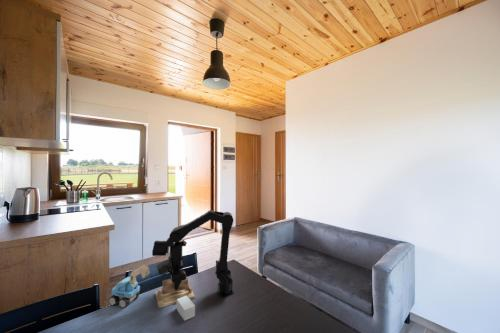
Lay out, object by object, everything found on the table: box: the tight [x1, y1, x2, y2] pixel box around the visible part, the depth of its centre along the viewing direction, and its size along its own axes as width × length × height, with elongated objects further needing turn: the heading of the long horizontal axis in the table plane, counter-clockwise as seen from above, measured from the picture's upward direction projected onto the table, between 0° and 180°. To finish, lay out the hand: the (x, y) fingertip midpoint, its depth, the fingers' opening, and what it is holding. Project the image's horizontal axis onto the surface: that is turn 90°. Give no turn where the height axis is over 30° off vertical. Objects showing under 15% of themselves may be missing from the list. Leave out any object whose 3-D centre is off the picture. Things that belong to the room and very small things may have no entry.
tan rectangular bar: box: [161, 275, 189, 295], centre depth 103 cm, size 11×4×4 cm, turn 119°
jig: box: [155, 283, 196, 309], centre depth 103 cm, size 16×12×3 cm
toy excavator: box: [108, 264, 151, 309], centre depth 98 cm, size 9×17×17 cm, turn 78°
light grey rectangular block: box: [176, 295, 196, 321], centre depth 92 cm, size 9×4×4 cm, turn 39°
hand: (175, 287), depth 103 cm, fingers closed on tan rectangular bar, 4 cm apart
